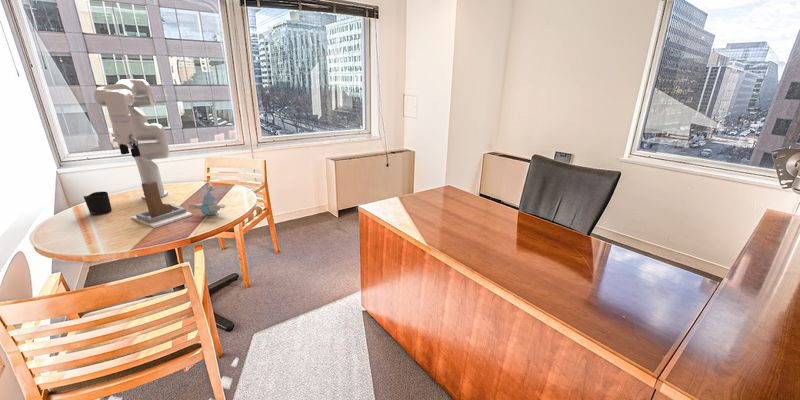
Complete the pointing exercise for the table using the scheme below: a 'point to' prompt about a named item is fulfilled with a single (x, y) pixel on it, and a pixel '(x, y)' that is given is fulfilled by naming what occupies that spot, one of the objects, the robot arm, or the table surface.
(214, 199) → the toy figure
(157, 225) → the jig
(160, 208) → the wooden block
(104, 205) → the pen holder
